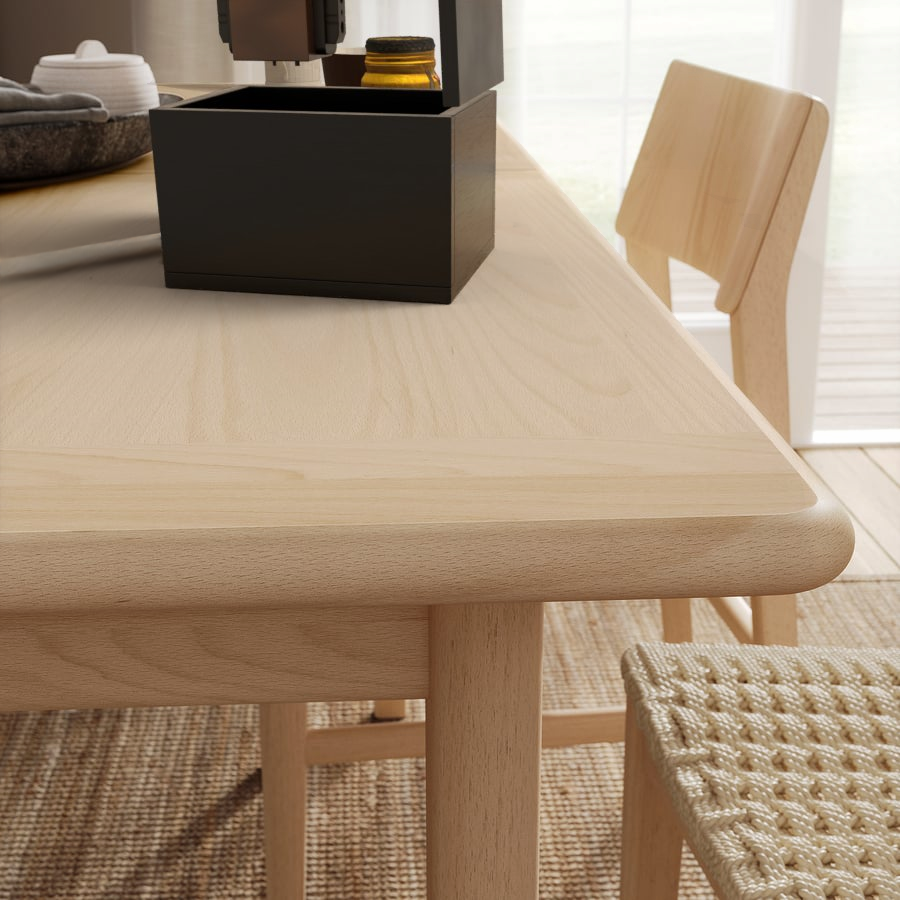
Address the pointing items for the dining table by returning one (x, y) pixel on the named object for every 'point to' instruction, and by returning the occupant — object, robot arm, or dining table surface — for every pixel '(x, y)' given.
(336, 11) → the robot arm
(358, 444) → the dining table surface
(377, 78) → the condiment
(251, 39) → the block
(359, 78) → the coffee mug
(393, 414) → the dining table surface
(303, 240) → the dark wooden box
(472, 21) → the lid
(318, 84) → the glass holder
